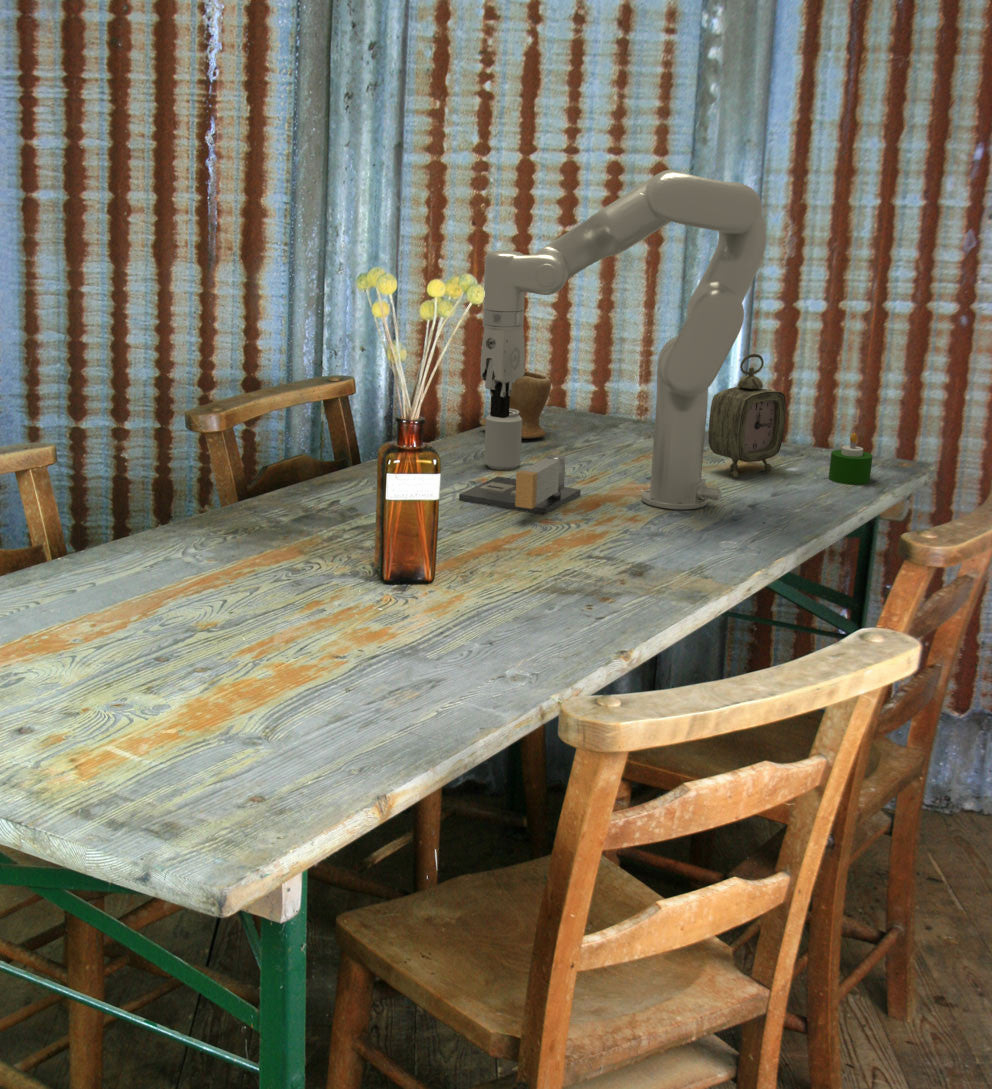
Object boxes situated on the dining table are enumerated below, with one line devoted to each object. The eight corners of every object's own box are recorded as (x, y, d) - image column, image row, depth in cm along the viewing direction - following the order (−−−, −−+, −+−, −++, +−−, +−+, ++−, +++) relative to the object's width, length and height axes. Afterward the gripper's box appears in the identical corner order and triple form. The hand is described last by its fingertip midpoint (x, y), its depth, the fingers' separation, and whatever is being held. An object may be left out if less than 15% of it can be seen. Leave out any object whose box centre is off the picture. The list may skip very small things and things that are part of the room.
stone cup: (558, 439, 304) (561, 374, 299) (516, 444, 297) (518, 378, 293) (520, 426, 316) (523, 363, 311) (478, 431, 309) (480, 367, 305)
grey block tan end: (549, 485, 252) (550, 453, 251) (566, 487, 251) (568, 455, 249) (514, 506, 238) (515, 472, 236) (532, 508, 236) (534, 475, 234)
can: (520, 471, 273) (522, 414, 270) (483, 470, 274) (485, 413, 270) (520, 463, 281) (522, 407, 277) (484, 461, 281) (486, 405, 277)
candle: (835, 473, 281) (840, 426, 278) (874, 479, 277) (880, 432, 274) (823, 480, 274) (828, 433, 272) (862, 487, 270) (868, 439, 268)
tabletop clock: (734, 481, 271) (745, 359, 264) (701, 472, 278) (711, 353, 270) (780, 472, 280) (791, 354, 272) (746, 463, 287) (757, 347, 279)
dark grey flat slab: (580, 495, 257) (581, 481, 256) (545, 514, 243) (546, 500, 243) (497, 482, 265) (497, 468, 264) (459, 500, 251) (459, 485, 250)
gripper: (503, 325, 238) (499, 426, 244) (538, 316, 251) (534, 412, 256) (466, 321, 241) (463, 420, 247) (503, 313, 254) (499, 407, 260)
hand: (499, 416), depth 252 cm, fingers closed
